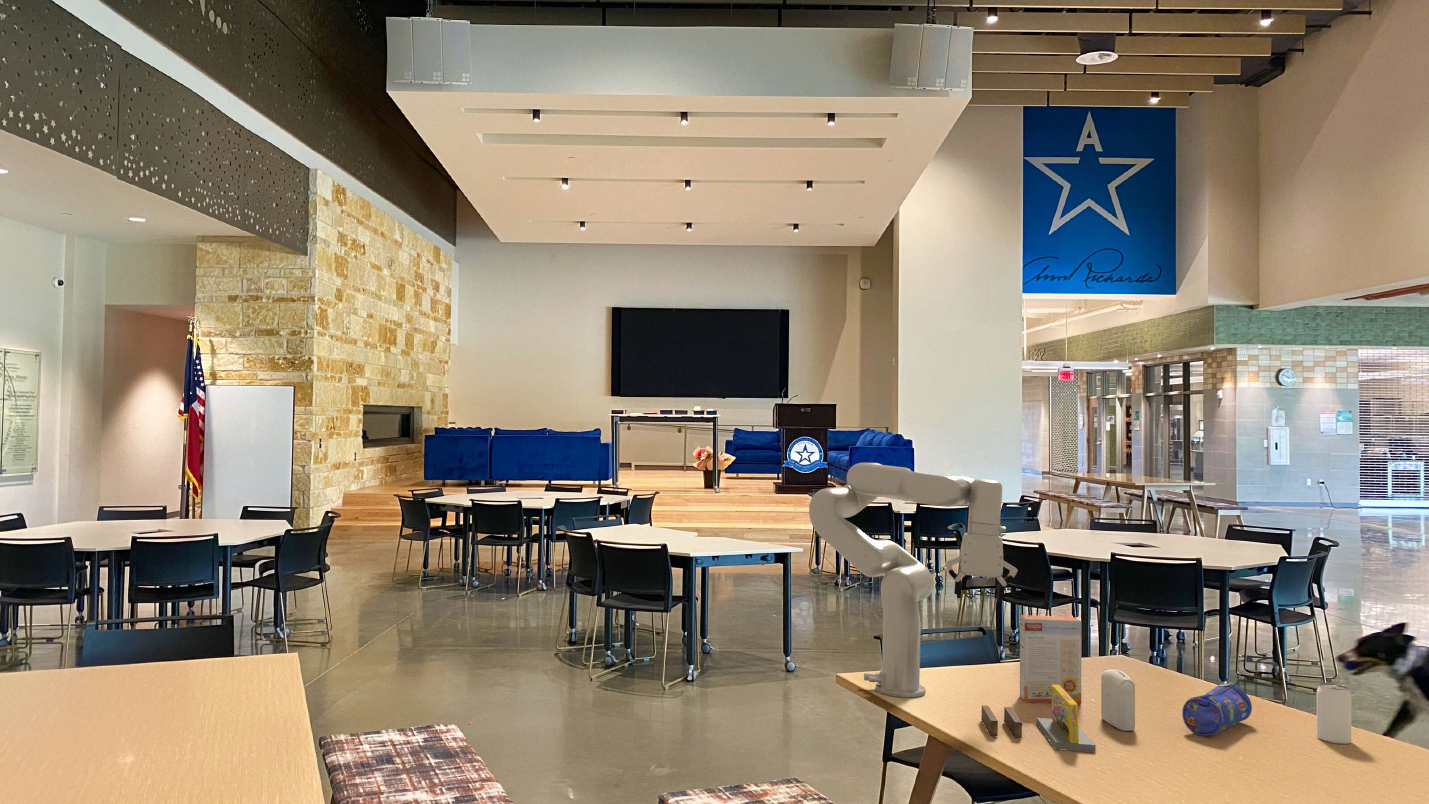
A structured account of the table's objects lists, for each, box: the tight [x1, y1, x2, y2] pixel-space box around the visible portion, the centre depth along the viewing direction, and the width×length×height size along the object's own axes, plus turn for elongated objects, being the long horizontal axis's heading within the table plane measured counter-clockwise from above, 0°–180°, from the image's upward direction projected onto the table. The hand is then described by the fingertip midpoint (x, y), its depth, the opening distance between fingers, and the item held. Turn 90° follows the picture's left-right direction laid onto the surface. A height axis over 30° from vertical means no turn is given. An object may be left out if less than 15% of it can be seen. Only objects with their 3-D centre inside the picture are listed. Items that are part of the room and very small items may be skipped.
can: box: [1316, 682, 1352, 745], centre depth 206 cm, size 6×6×12 cm
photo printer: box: [1100, 669, 1136, 732], centre depth 213 cm, size 10×4×12 cm, turn 2°
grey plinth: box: [1036, 717, 1097, 753], centre depth 201 cm, size 8×18×2 cm, turn 173°
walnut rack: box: [980, 704, 1023, 740], centre depth 206 cm, size 7×12×4 cm, turn 173°
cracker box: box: [1019, 614, 1082, 706], centre depth 232 cm, size 14×6×21 cm, turn 84°
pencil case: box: [1182, 681, 1253, 737], centre depth 213 cm, size 22×9×10 cm, turn 133°
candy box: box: [1051, 685, 1079, 743], centre depth 201 cm, size 16×2×8 cm, turn 173°
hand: (978, 599), depth 226 cm, fingers open, 9 cm apart
